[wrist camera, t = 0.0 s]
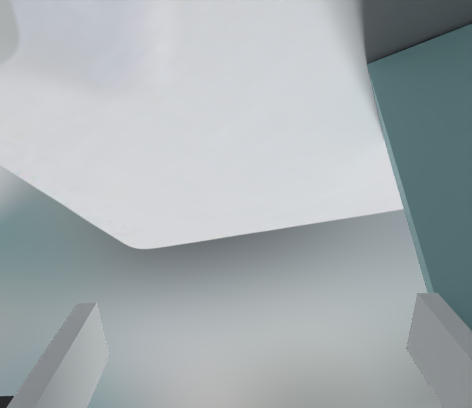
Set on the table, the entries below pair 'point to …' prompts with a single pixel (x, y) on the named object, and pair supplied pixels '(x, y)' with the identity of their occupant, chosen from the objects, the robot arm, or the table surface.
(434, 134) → the notched post
